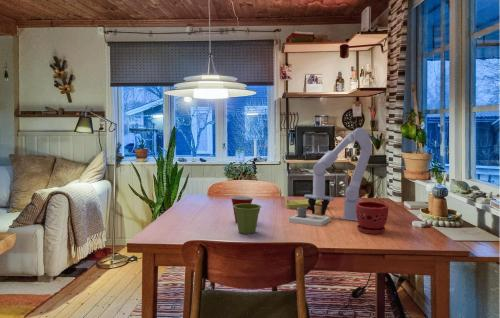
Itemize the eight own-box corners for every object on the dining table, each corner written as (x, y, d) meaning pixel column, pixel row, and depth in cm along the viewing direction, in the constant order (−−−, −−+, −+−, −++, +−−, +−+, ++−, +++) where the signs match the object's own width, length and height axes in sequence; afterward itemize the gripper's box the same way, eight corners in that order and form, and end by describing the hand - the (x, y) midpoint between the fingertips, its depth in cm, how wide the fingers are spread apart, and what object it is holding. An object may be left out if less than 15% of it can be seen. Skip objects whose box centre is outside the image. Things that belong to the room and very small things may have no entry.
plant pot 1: (237, 236, 173) (237, 209, 172) (230, 229, 184) (230, 204, 183) (264, 234, 176) (265, 207, 175) (256, 227, 187) (256, 202, 186)
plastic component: (285, 205, 228) (285, 194, 237) (286, 216, 232) (286, 204, 241) (322, 203, 226) (321, 192, 235) (323, 214, 230) (321, 203, 239)
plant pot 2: (349, 231, 181) (350, 203, 180) (365, 226, 190) (366, 200, 189) (377, 237, 172) (378, 208, 171) (393, 231, 181) (394, 204, 180)
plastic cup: (257, 220, 201) (257, 195, 200) (245, 225, 191) (245, 199, 191) (238, 218, 206) (238, 193, 205) (225, 222, 197) (225, 197, 196)
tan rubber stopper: (324, 216, 210) (325, 204, 209) (321, 218, 206) (321, 206, 205) (315, 215, 212) (315, 203, 212) (312, 217, 208) (312, 205, 208)
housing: (330, 221, 201) (330, 216, 200) (321, 226, 190) (321, 221, 190) (299, 217, 209) (299, 213, 209) (288, 222, 199) (288, 217, 198)
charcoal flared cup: (308, 220, 202) (308, 207, 202) (304, 222, 198) (304, 209, 198) (299, 219, 205) (299, 206, 204) (295, 221, 201) (295, 208, 200)
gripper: (302, 186, 208) (301, 214, 209) (330, 189, 201) (329, 217, 202) (307, 185, 214) (307, 211, 215) (335, 187, 207) (334, 214, 208)
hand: (318, 214), depth 209 cm, fingers closed on tan rubber stopper, 5 cm apart
